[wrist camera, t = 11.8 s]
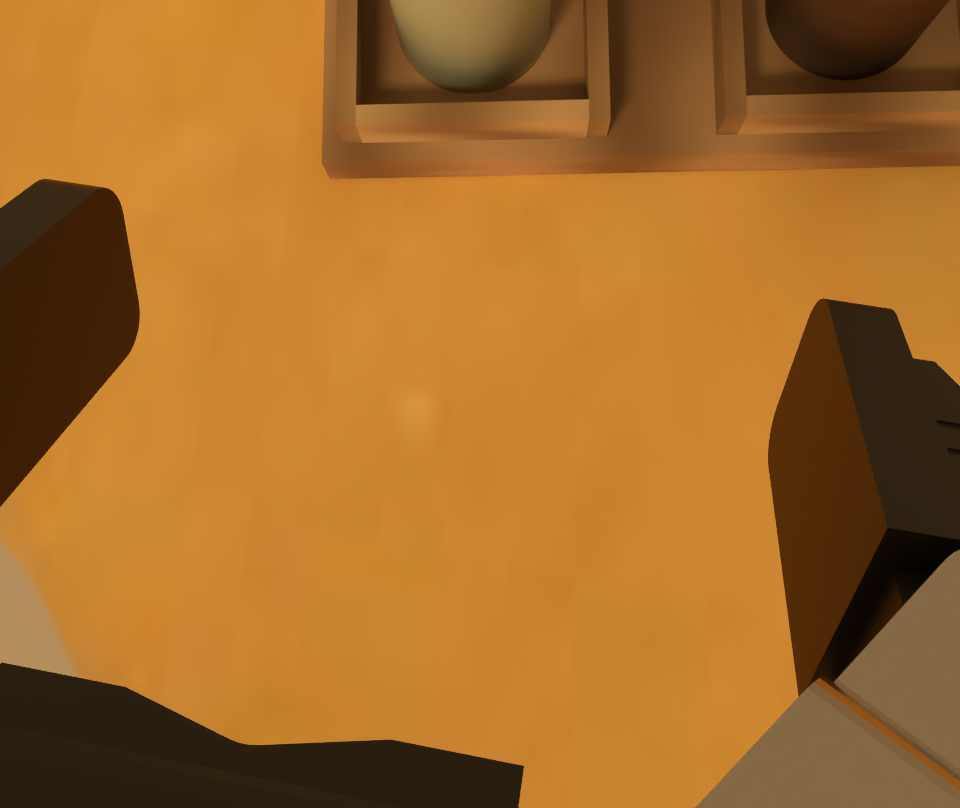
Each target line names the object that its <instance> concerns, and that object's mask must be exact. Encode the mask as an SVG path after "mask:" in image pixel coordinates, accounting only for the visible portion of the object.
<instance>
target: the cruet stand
mask: <svg viewBox="0 0 960 808" xmlns="http://www.w3.org/2000/svg"><path fill="white" fill-rule="evenodd" d="M322 164H323V166H324V168H325V170H326V172H327V174H328V176H329V178H330V179H343V178H391V177H439V176H486V175H534V174H581V173H629V172H676V171H724V170H771V169H819V168H867V167H914V166H960V0H949V1H948V3H947V4H946V5H945V6H944V8H943V9H942V10H941V11H940V13H939V14H938V15H937V16H936V17H935V19H934V20H933V21H932V22H931V24H930V25H929V26H928V27H927V29H926V30H925V31H924V32H923V34H922V35H921V36H920V37H919V38H918V40H917V41H916V42H915V43H914V45H913V46H912V47H911V48H910V50H909V51H908V52H907V53H906V54H905V55H904V57H903V58H902V59H900V60H899V61H898V62H897V63H896V64H895V65H893V66H892V67H890V68H889V69H887V70H885V71H883V72H881V73H879V74H877V75H874V76H871V77H868V78H863V79H858V80H835V79H829V78H825V77H821V76H817V75H815V74H813V73H810V72H808V71H806V70H804V69H803V68H801V67H799V66H798V65H796V64H795V63H794V62H792V61H791V60H790V59H789V58H788V57H787V56H786V55H785V54H784V53H783V52H782V51H781V49H780V48H779V47H778V46H777V44H776V42H775V41H774V39H773V37H772V35H771V33H770V30H769V28H768V24H767V21H766V15H765V0H551V11H550V29H549V34H548V39H547V42H546V45H545V48H544V49H543V51H542V53H541V55H540V57H539V58H538V60H537V61H536V63H535V64H534V65H533V66H532V68H531V69H530V70H529V71H528V72H527V73H525V74H524V75H523V76H522V77H521V78H519V79H518V80H516V81H515V82H513V83H512V84H510V85H508V86H505V87H503V88H501V89H498V90H495V91H491V92H486V93H479V94H463V93H457V92H452V91H449V90H445V89H443V88H440V87H438V86H436V85H434V84H432V83H431V82H429V81H427V80H426V79H425V78H423V77H422V76H421V75H420V74H419V73H418V72H417V71H416V70H415V69H414V68H413V67H412V66H411V64H410V63H409V61H408V60H407V58H406V56H405V54H404V52H403V50H402V47H401V45H400V41H399V37H398V33H397V29H396V25H395V21H394V17H393V13H392V9H391V5H390V1H389V0H325V35H324V87H323V139H322Z"/></svg>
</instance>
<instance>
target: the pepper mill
mask: <svg viewBox="0 0 960 808" xmlns="http://www.w3.org/2000/svg"><path fill="white" fill-rule="evenodd" d="M948 1H949V0H765V15H766V21H767V24H768V28H769V30H770V33H771V35H772V37H773V39H774V41H775V42H776V44H777V46H778V47H779V48H780V49H781V51H782V52H783V53H784V54H785V55H786V56H787V57H788V58H789V59H790V60H791V61H792V62H794V63H795V64H796V65H798V66H799V67H801V68H803V69H804V70H806V71H808V72H810V73H813V74H815V75H817V76H821V77H825V78H829V79H835V80H858V79H863V78H868V77H871V76H874V75H877V74H879V73H881V72H883V71H885V70H887V69H889V68H890V67H892V66H893V65H895V64H896V63H897V62H898V61H899V60H900V59H902V58H903V57H904V55H905V54H906V53H907V52H908V51H909V50H910V48H911V47H912V46H913V45H914V43H915V42H916V41H917V40H918V38H919V37H920V36H921V35H922V34H923V32H924V31H925V30H926V29H927V27H928V26H929V25H930V24H931V22H932V21H933V20H934V19H935V17H936V16H937V15H938V14H939V13H940V11H941V10H942V9H943V8H944V6H945V5H946V4H947V3H948Z"/></svg>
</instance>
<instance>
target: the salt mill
mask: <svg viewBox="0 0 960 808" xmlns="http://www.w3.org/2000/svg"><path fill="white" fill-rule="evenodd" d="M389 1H390V5H391V9H392V13H393V17H394V21H395V25H396V29H397V33H398V37H399V41H400V45H401V47H402V50H403V52H404V54H405V56H406V58H407V60H408V61H409V63H410V64H411V66H412V67H413V68H414V69H415V70H416V71H417V72H418V73H419V74H420V75H421V76H422V77H423V78H425V79H426V80H427V81H429V82H431V83H432V84H434V85H436V86H438V87H440V88H443V89H445V90H449V91H452V92H457V93H463V94H479V93H486V92H491V91H495V90H498V89H501V88H503V87H505V86H508V85H510V84H512V83H513V82H515V81H516V80H518V79H519V78H521V77H522V76H523V75H524V74H525V73H527V72H528V71H529V70H530V69H531V68H532V66H533V65H534V64H535V63H536V61H537V60H538V58H539V57H540V55H541V53H542V51H543V49H544V48H545V45H546V42H547V39H548V34H549V29H550V11H551V0H389Z"/></svg>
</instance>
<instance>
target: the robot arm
mask: <svg viewBox="0 0 960 808" xmlns="http://www.w3.org/2000/svg"><path fill="white" fill-rule="evenodd" d="M139 317H140V310H139V301H138V295H137V290H136V284H135V278H134V272H133V267H132V261H131V255H130V249H129V244H128V238H127V232H126V226H125V221H124V215H123V210H122V207H121V204H120V201H119V199H118V197H117V196H116V194H115V193H114V192H113V191H111V190H110V189H108V188H103V187H96V186H90V185H83V184H76V183H70V182H63V181H57V180H50V179H42V180H39V181H37V182H36V183H34V184H33V185H31V186H30V187H29V188H27V189H26V190H25V191H23V192H22V193H21V194H19V195H18V196H17V197H15V198H14V199H12V200H11V201H10V202H8V203H7V204H6V205H4V206H3V207H2V208H0V507H1V505H2V504H3V503H4V502H5V501H6V499H7V498H8V497H9V496H10V495H11V494H12V492H13V491H14V490H15V489H16V488H17V486H18V485H19V484H20V483H21V482H22V480H23V479H24V478H25V477H26V476H27V475H28V473H29V472H30V471H31V470H32V469H33V467H34V466H35V465H36V464H37V463H38V462H39V460H40V459H41V458H42V457H43V456H44V454H45V453H46V452H47V451H48V450H49V448H50V447H51V446H52V445H53V444H54V443H55V441H56V440H57V439H58V438H59V437H60V435H61V434H62V433H63V432H64V431H65V429H66V428H67V427H68V426H69V425H70V424H71V422H72V421H73V420H74V419H75V418H76V416H77V415H78V414H79V413H80V412H81V411H82V409H83V408H84V407H85V406H86V405H87V403H88V402H89V401H90V400H91V399H92V397H93V396H94V395H95V394H96V393H97V392H98V390H99V389H100V388H101V387H102V386H103V384H104V383H105V382H106V381H107V380H108V378H109V377H110V376H111V375H112V374H113V373H114V371H115V370H116V369H117V368H118V367H119V365H120V364H121V363H122V362H123V361H124V359H125V358H126V357H127V356H128V354H129V353H130V351H131V349H132V347H133V345H134V342H135V339H136V336H137V332H138V327H139ZM768 465H769V473H770V481H771V488H772V496H773V504H774V511H775V519H776V527H777V534H778V542H779V549H780V557H781V565H782V572H783V580H784V588H785V595H786V603H787V610H788V618H789V626H790V633H791V641H792V649H793V656H794V664H795V672H796V679H797V687H798V694H799V697H798V698H797V699H796V700H795V701H794V703H793V704H792V705H791V706H790V707H789V708H788V709H787V710H786V711H785V712H784V713H783V714H782V715H781V716H780V718H779V719H778V720H777V721H776V722H775V723H774V724H773V725H772V726H771V727H770V728H769V729H768V730H767V731H766V733H765V734H764V735H763V736H762V737H761V738H760V739H759V740H758V741H757V742H756V743H755V744H754V745H753V746H752V748H751V749H750V750H749V751H748V752H747V753H746V754H745V755H744V756H743V757H742V758H741V759H740V760H739V761H738V763H737V764H736V765H735V766H734V767H733V768H732V769H731V770H730V771H729V772H728V773H727V774H726V775H725V776H724V778H723V779H722V780H721V781H720V782H719V783H718V784H717V785H716V786H715V787H714V788H713V789H712V790H711V791H710V792H709V794H708V795H707V796H706V797H705V798H704V799H703V800H702V801H701V802H700V803H699V804H698V805H697V806H696V807H695V808H960V386H959V385H958V384H957V383H956V382H955V381H954V380H953V379H952V378H951V377H950V376H949V375H948V374H947V373H946V372H945V371H944V370H943V369H942V368H940V367H939V366H938V365H937V364H936V363H935V362H933V361H926V360H920V359H914V358H913V357H912V355H911V352H910V349H909V347H908V344H907V341H906V339H905V336H904V334H903V331H902V328H901V326H900V323H899V320H898V318H897V315H896V313H895V312H894V311H893V310H892V309H888V308H881V307H875V306H868V305H862V304H855V303H848V302H842V301H835V300H829V299H820V300H819V301H818V302H817V303H816V305H815V306H814V308H813V310H812V312H811V314H810V316H809V319H808V322H807V324H806V327H805V330H804V333H803V336H802V338H801V341H800V344H799V347H798V350H797V352H796V355H795V358H794V361H793V364H792V366H791V369H790V372H789V375H788V378H787V380H786V383H785V386H784V389H783V392H782V394H781V397H780V400H779V403H778V406H777V408H776V412H775V415H774V418H773V423H772V427H771V433H770V439H769V449H768ZM523 769H524V766H521V765H516V764H511V763H506V762H501V761H496V760H491V759H486V758H481V757H476V756H471V755H465V754H460V753H455V752H450V751H445V750H440V749H435V748H430V747H425V746H420V745H415V744H410V743H405V742H400V741H395V740H372V741H349V742H325V743H301V744H278V745H246V744H241V743H238V742H235V741H232V740H230V739H228V738H226V737H224V736H222V735H220V734H218V733H216V732H214V731H212V730H210V729H208V728H206V727H204V726H202V725H200V724H198V723H196V722H194V721H192V720H190V719H188V718H186V717H184V716H182V715H180V714H178V713H176V712H174V711H172V710H170V709H168V708H166V707H164V706H162V705H160V704H158V703H156V702H154V701H152V700H150V699H148V698H146V697H144V696H142V695H140V694H138V693H136V692H134V691H132V690H130V689H128V688H126V687H122V686H117V685H112V684H107V683H102V682H97V681H92V680H87V679H82V678H77V677H72V676H67V675H62V674H57V673H52V672H46V671H41V670H36V669H31V668H26V667H21V666H16V665H11V664H6V663H1V664H0V808H519V807H518V805H519V798H520V790H521V783H522V776H523Z"/></svg>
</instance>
